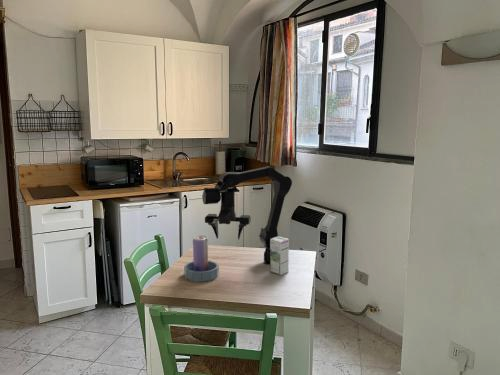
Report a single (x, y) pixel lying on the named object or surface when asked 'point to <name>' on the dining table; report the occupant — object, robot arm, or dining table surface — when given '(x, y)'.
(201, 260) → the beverage can
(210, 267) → the bowl
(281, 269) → the syrup box
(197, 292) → the dining table surface
